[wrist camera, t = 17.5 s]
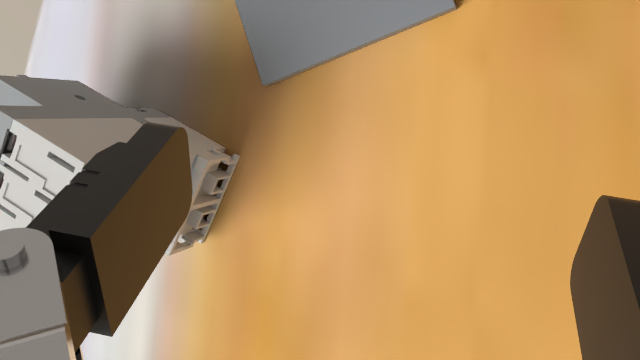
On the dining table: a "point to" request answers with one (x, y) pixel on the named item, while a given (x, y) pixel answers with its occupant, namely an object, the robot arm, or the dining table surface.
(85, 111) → the circuit breaker
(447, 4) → the lockout board
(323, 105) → the dining table surface
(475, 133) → the dining table surface
